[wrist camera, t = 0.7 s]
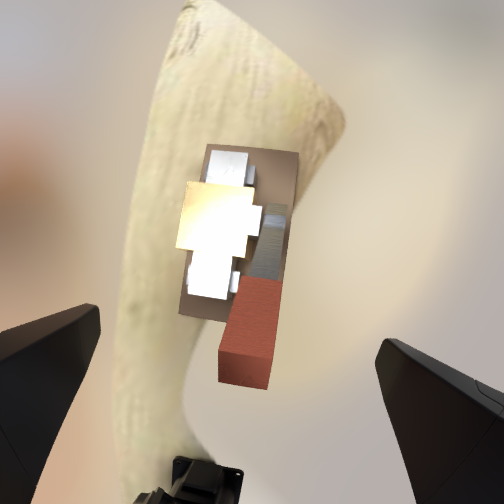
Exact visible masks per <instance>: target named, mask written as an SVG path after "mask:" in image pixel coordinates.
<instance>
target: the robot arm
mask: <svg viewBox="0 0 504 504" xmlns="http://www.w3.org/2000/svg"><path fill="white" fill-rule="evenodd" d="M100 333H101V327H100V313H99V308H98V306H96V305H92V304H87V303H86V304H82V305H80V306H76V307H73V308H70V309H67V310H64V311H61V312H58V313H55V314H53V315H50V316H47V317H44V318H41V319H38V320H35V321H32V322H29V323H26V324H23V325H20V326H17V327H14V328H11V329H8V330H5V331H2V332H1V334H0V504H31V501H32V498H33V495H34V493H35V489H36V485H37V484H38V481H39V479H40V476H41V473H42V471H43V468H44V466H45V463H46V460H47V458H48V456H49V454H50V451H51V449H52V446H53V444H54V442H55V439H56V437H57V435H58V432H59V430H60V428H61V426H62V423H63V421H64V419H65V417H66V415H67V412H68V410H69V408H70V406H71V404H72V402H73V400H74V397H75V395H76V393H77V391H78V389H79V387H80V385H81V383H82V381H83V379H84V377H85V374H86V372H87V370H88V367H89V364H90V361H91V358H92V356H93V353H94V351H95V348H96V345H97V343H98V340H99V337H100ZM375 367H376V371H377V375H378V379H379V383H380V387H381V391H382V395H383V400H384V403H385V406H386V409H387V412H388V415H389V418H390V421H391V423H392V426H393V429H394V432H395V435H396V438H397V441H398V444H399V447H400V450H401V453H402V457H403V460H404V463H405V466H406V469H407V473H408V476H409V479H410V482H411V486H412V489H413V493H414V496H415V500H416V503H417V504H504V393H502V392H500V391H498V390H495V389H493V388H491V387H489V386H487V385H485V384H483V383H481V382H479V381H477V380H474V379H473V378H471V377H469V376H467V375H465V374H463V373H461V372H459V371H457V370H456V369H454V368H452V367H450V366H448V365H446V364H444V363H442V362H440V361H438V360H436V359H434V358H432V357H430V356H428V355H426V354H425V353H423V352H421V351H419V350H417V349H414V348H413V347H411V346H409V345H407V344H405V343H403V342H401V341H399V340H397V339H391V338H390V339H388V338H387V339H385V340H384V341H383V342H382V344H381V347H380V349H379V352H378V354H377V357H376V360H375ZM177 461H180V462H181V463H179V462H177ZM237 473H239V474H240V475H237ZM243 476H244V472H243V471H242V470H240V469H235V468H228V467H224V466H221V465H216V464H211V463H206V462H202V461H197V460H191V459H187V458H183V457H178V456H177V457H175V458H174V460H173V471H172V488H171V490H170V492H169V494H167V493H166V492H164V490H163V489H162V488H160V487H158V488H157V489H156V490H155V491H152V492H151V493H149V494H148V493H141V494H140V495H139V496H138V497H137V498H136V500H135V501H134V503H133V504H238V502H239V497H240V492H241V487H242V482H243Z"/></svg>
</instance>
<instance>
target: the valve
mask: <svg viewBox="0 0 504 504" xmlns="http://www.w3.org/2000/svg"><path fill="white" fill-rule="evenodd" d="M257 179H258V175H257V170H256V166H251V162H250V158H249V153H242V152H231V151H218V150H212V152H211V157H210V162H207V164H206V170H205V175H204V181H205V182H206V183H202V182H190V181H188V183H187V188H186V194H185V199H184V204H183V210H182V215H181V221H180V226H179V232H178V238H177V244H176V248H178V249H181V250H184V251H187V252H190V253H193V259H192V265H189V268H188V275H187V282H186V285H189V287H188V293H189V294H195V295H201V296H207V297H213V298H219V299H225V300H226V299H229V298H232V292H237V289H238V286H239V283H240V280H241V276H242V275H243V274H244V273H241V272H236V265H237V260H240V261H247V262H250V261H251V254H252V247H253V240H254V241H258V240H259V236H260V233H261V229H262V225H263V218H264V213H263V208H262V206H259V204H258V200H257V196H256V185H257Z"/></svg>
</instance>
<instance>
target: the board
mask: <svg viewBox="0 0 504 504" xmlns="http://www.w3.org/2000/svg"><path fill="white" fill-rule="evenodd" d="M212 150H218V151H231V152H242V153H249V158H250V162H251V166H256V170H257V175H258V179H257V185H256V196H257V200H258V204H259V206H262V208H263V213H264V216H265V211H266V208H267V204H268V202H270V203H278V204H285V205H288V207H287V215H286V223H285V230H284V238H283V245H282V253H281V260H280V267H279V275H278V281H283V277H284V270H285V263H286V255H287V248H288V240H289V233H290V224H291V217H292V209H293V201H294V192H295V184H296V175H297V166H298V157H299V153H297V152H289V151H281V150H272V149H263V148H253V147H242V146H230V145H217V144H207V147H206V152H205V156H204V161H203V166H202V171H201V177H200V182H202V183H206V182H205V181H204V175H205V170H206V164H207V162H210V157H211V152H212ZM263 222H264V218H263ZM262 226H263V225H262ZM257 243H258V241H254V240H253V247H252V254H251V261H250V262H247V261H240V260H237V265H236V272H241V273H244V274H243V276H248V275H249V272H250V268H251V265H252V261H253V258H254V254H255V251H256V247H257ZM192 259H193V253H190V252H187V257H186V263H185V270H184V277H183V284H182V291H181V298H180V306H179V313H178V314H181V315H187V316H192V317H197V318H203V319H209V320H215V321H221V322H226V323H227V321H228V318H229V314H230V311H231V308H232V305H233V302H234V299H235V295H236V292H232V298H229V299H226V300H225V299H219V298H213V297H207V296H201V295H195V294H189V293H188V287H189V285H186V282H187V275H188V268H189V265H192Z"/></svg>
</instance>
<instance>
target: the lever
mask: <svg viewBox="0 0 504 504" xmlns="http://www.w3.org/2000/svg"><path fill="white" fill-rule="evenodd" d="M287 207H288V205H285V204H278V203H270V202H268V204H267V208H266V211H265V216H264V222H263V226H262V229H261V233H260V236H259V240H258V243H257V247H256V251H255V254H254V258H253V261H252V265H251V268H250V272H249V275H248V276H243V275H242V276H241V280H240V283H239V286H238V289H237V292H236V295H235V299H234V302H233V305H232V308H231V311H230V314H229V318H228V321H227V324H226V327H225V330H224V333H223V337H222V340H221V343H220V346H219V349H218V382H222V383H227V384H233V385H238V386H245V387H251V388H257V389H264V390H267V388H268V382H269V377H270V372H271V366H272V361H273V354H274V347H275V340H276V331H277V324H278V317H279V309H280V300H281V292H282V284H283V281H278V275H279V267H280V260H281V253H282V245H283V238H284V230H285V223H286V215H287Z"/></svg>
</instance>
